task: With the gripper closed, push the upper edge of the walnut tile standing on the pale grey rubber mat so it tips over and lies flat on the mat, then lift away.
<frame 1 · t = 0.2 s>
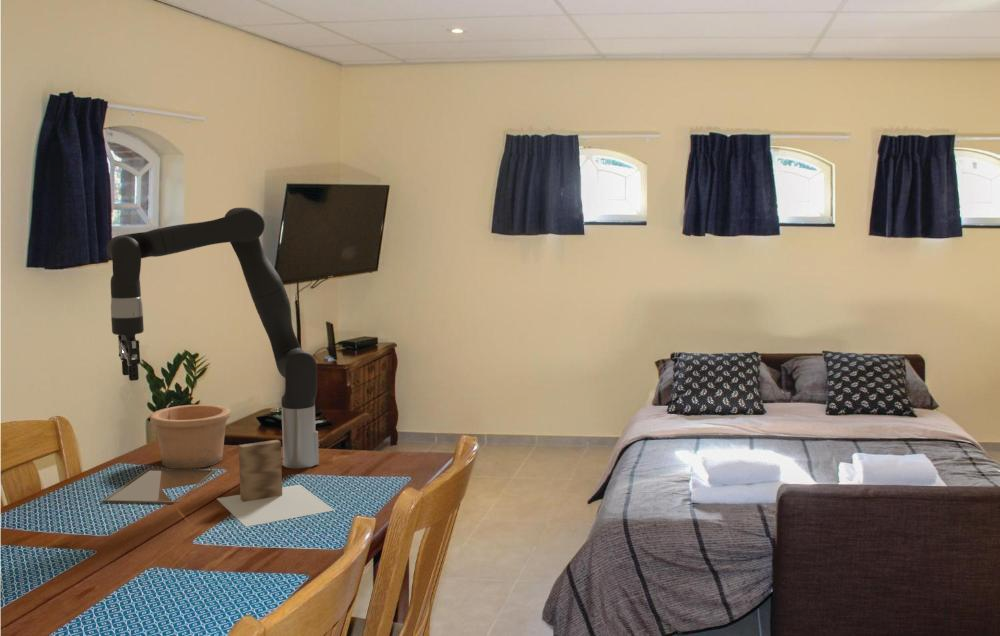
hand: (130, 377, 243), 30 cm above the table, fingers open, 8 cm apart
mat: (274, 505, 235), on the table
picture frame: (162, 488, 251), on the table
pottery: (192, 461, 274), on the table
walnut tile: (261, 497, 240), resting on mat
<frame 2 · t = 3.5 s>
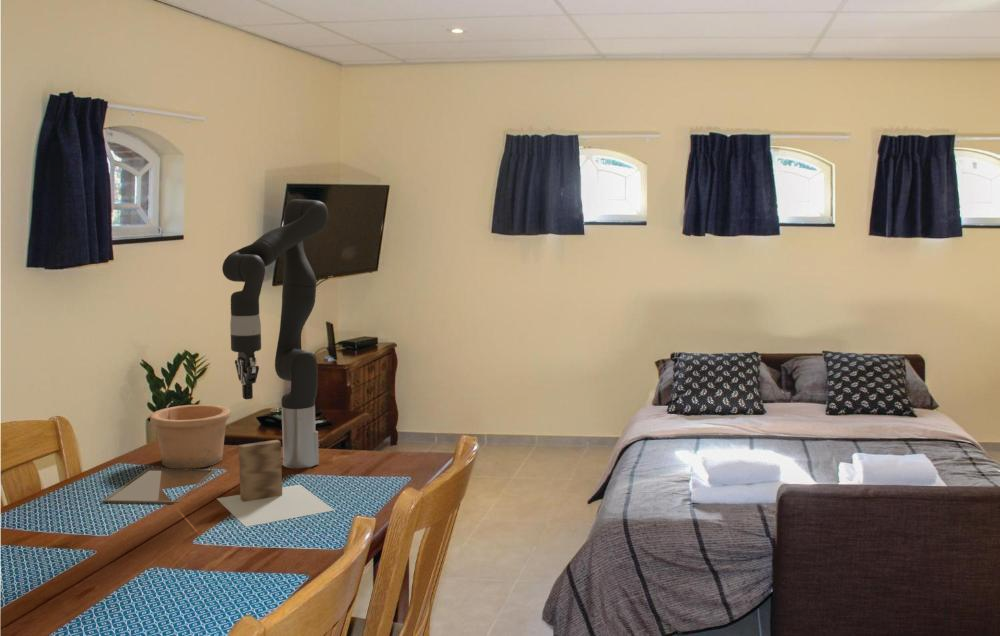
hand: (247, 398, 245), 24 cm above the table, fingers closed
nothing on the table moved.
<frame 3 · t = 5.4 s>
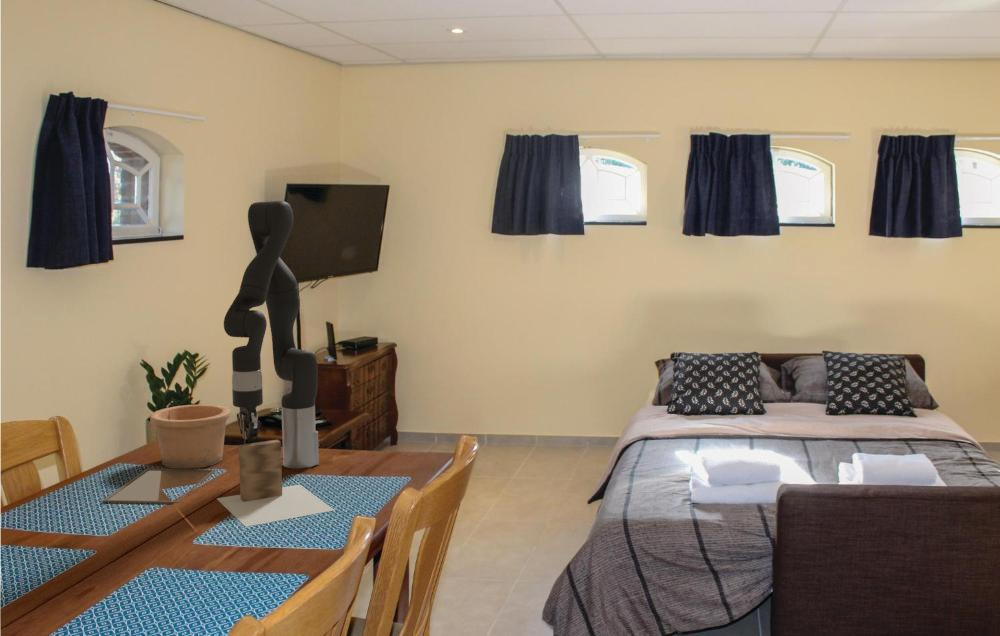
hand: (249, 452, 247), 10 cm above the table, fingers closed
nothing on the table moved.
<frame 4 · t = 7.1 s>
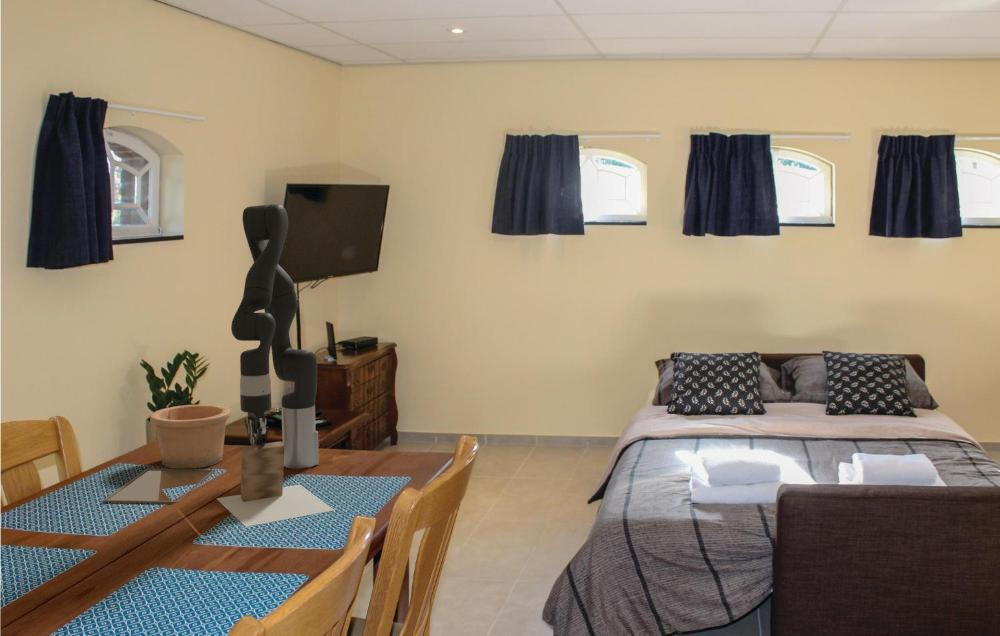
hand: (257, 458, 240), 10 cm above the table, fingers closed
walnut tile: (261, 496, 240), point 1 cm above the table, tilted 12°, touching mat
everything else where it was.
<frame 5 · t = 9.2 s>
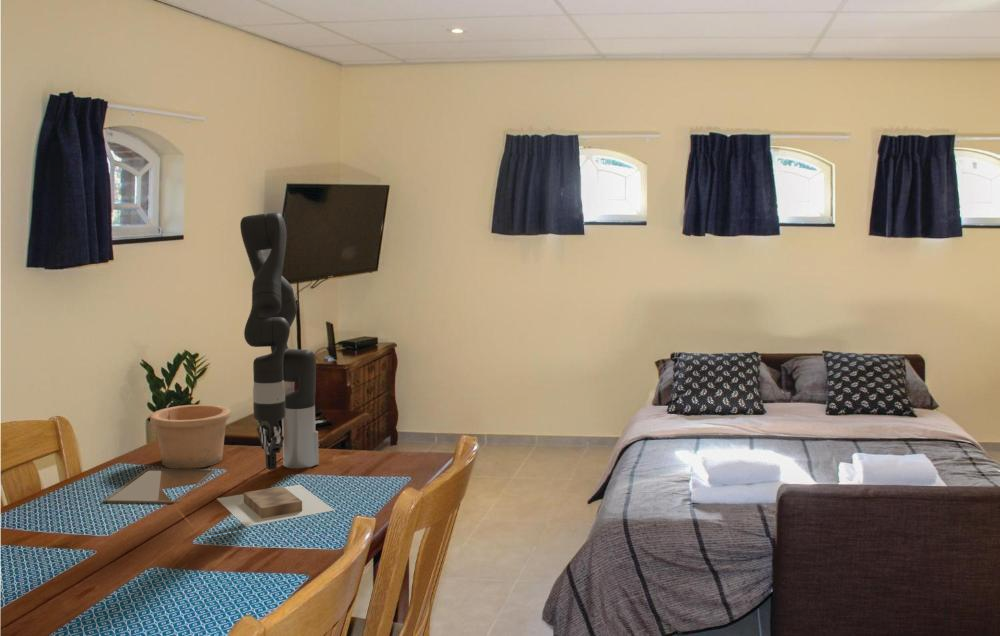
hand: (271, 468, 232), 10 cm above the table, fingers closed
walnut tile: (263, 494, 239), point 2 cm above the table, tilted 90°, touching mat
everything else where it was.
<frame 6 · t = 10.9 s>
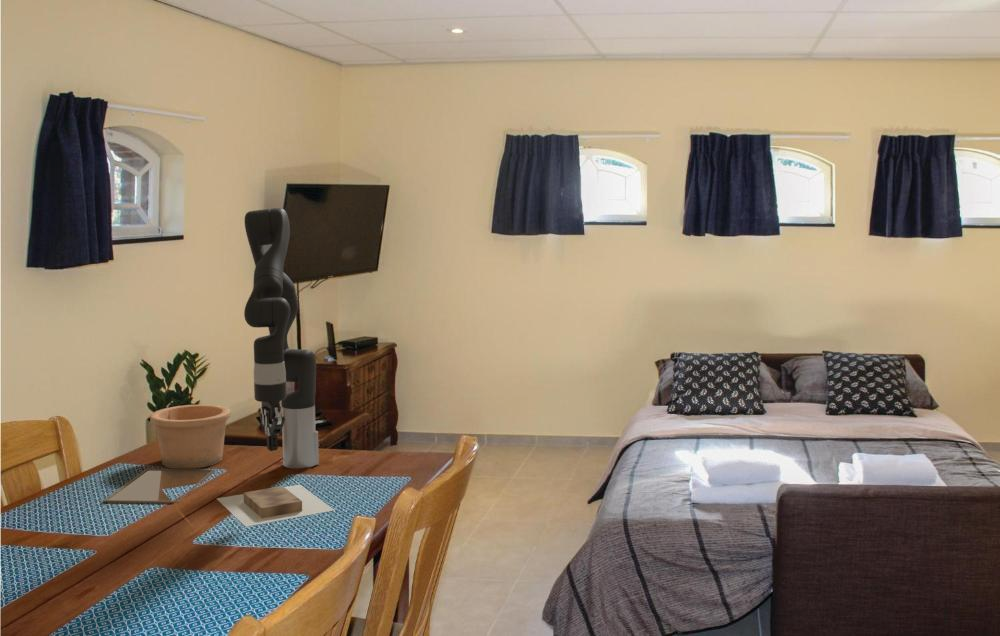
hand: (272, 449, 231), 15 cm above the table, fingers closed
nothing on the table moved.
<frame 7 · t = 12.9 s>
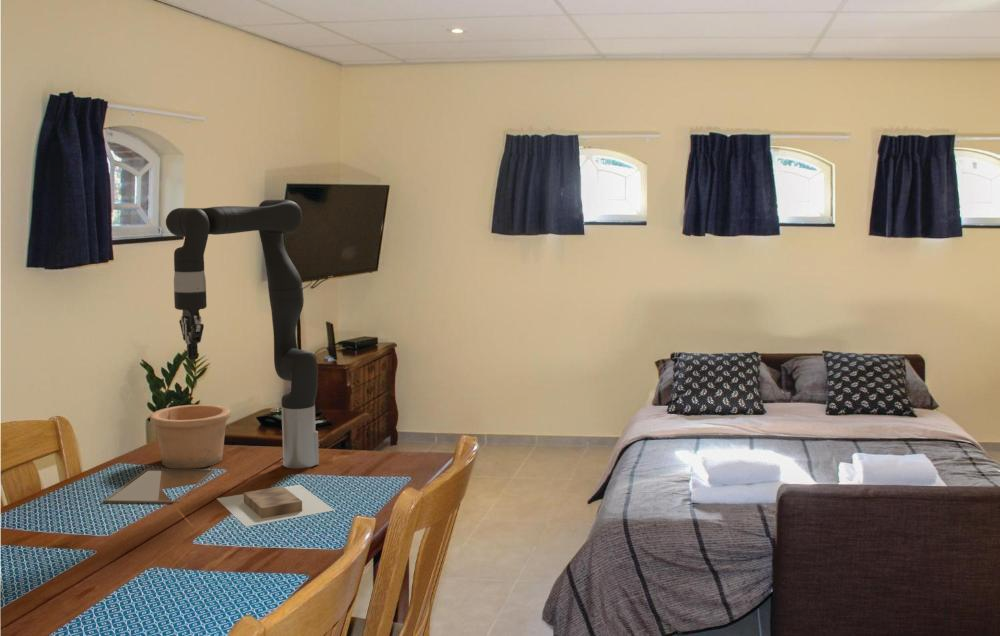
hand: (192, 358, 236), 36 cm above the table, fingers closed
nothing on the table moved.
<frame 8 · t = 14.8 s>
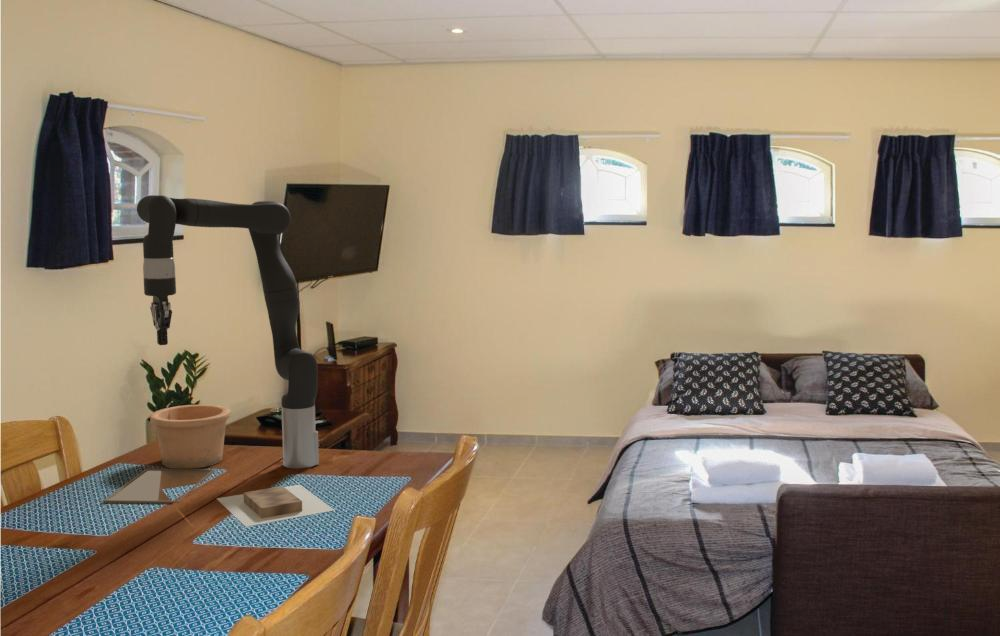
hand: (162, 344, 239), 39 cm above the table, fingers closed
nothing on the table moved.
at the end: walnut tile tilted 90°; walnut tile touching mat; walnut tile inside the target area (6.0 cm from its centre), point 1.6 cm above the table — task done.
